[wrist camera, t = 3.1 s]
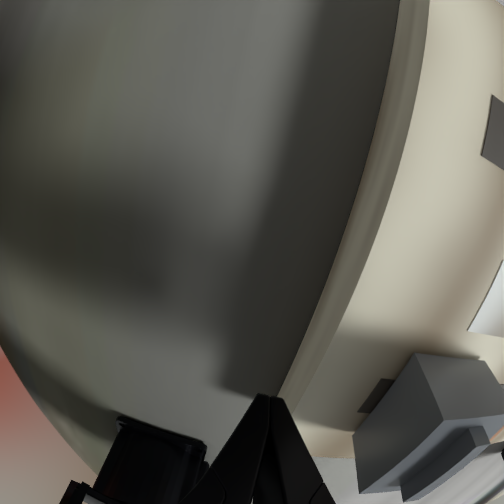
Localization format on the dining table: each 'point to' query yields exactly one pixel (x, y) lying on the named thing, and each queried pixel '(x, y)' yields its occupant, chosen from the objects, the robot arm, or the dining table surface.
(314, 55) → the dining table surface
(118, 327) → the dining table surface
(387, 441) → the switch tab
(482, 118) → the switch board
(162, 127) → the dining table surface
